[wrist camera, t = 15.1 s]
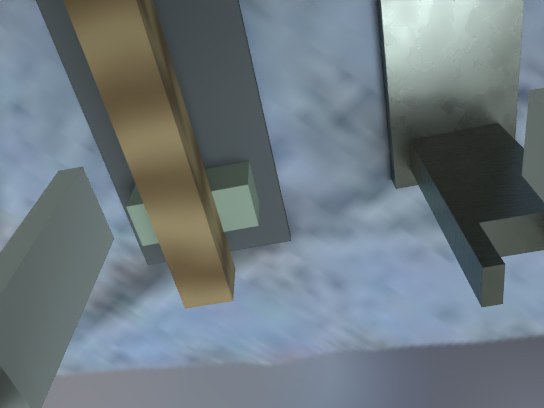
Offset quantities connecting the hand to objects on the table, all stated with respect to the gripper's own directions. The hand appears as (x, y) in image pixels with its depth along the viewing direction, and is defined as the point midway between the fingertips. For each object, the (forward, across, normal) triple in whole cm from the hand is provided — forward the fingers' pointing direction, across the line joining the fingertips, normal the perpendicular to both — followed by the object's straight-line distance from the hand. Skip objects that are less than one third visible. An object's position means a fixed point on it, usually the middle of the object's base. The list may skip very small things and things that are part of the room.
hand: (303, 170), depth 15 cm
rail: (+21, -10, -2) cm, 23 cm away
